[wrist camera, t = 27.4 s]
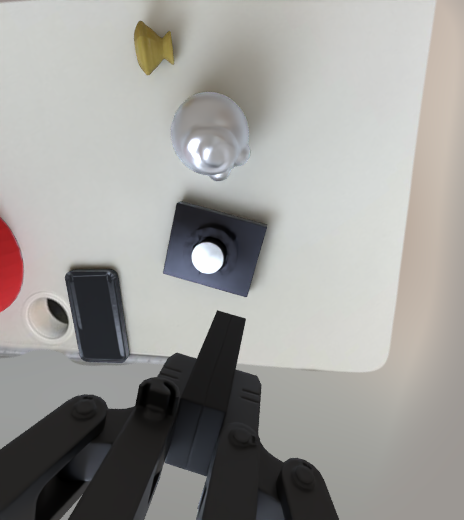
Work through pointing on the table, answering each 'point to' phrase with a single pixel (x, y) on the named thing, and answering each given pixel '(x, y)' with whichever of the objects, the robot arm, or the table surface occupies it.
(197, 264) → the stove button
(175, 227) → the panel
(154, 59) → the knob
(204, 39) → the table surface
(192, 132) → the ghost figurine
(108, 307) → the phone
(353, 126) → the table surface
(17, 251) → the toy clock
